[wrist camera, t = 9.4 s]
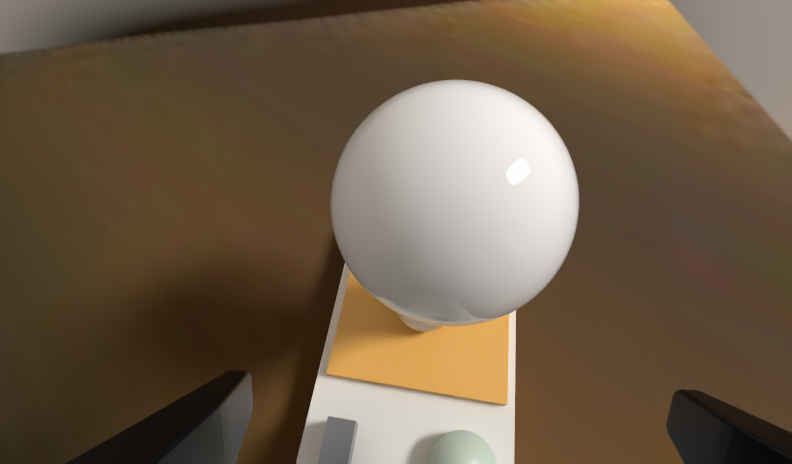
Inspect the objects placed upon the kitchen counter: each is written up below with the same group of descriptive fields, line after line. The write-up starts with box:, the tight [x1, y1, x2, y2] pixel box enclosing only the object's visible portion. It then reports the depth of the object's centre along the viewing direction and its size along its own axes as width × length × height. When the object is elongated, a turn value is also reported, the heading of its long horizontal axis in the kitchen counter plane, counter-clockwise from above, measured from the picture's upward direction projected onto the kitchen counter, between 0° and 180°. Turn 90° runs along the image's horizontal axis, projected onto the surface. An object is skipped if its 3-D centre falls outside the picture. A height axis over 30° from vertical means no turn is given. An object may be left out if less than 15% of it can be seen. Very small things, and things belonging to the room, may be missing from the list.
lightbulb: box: [331, 80, 579, 332], centre depth 13 cm, size 6×6×11 cm
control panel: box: [296, 263, 516, 464], centre depth 15 cm, size 20×8×3 cm, turn 171°
